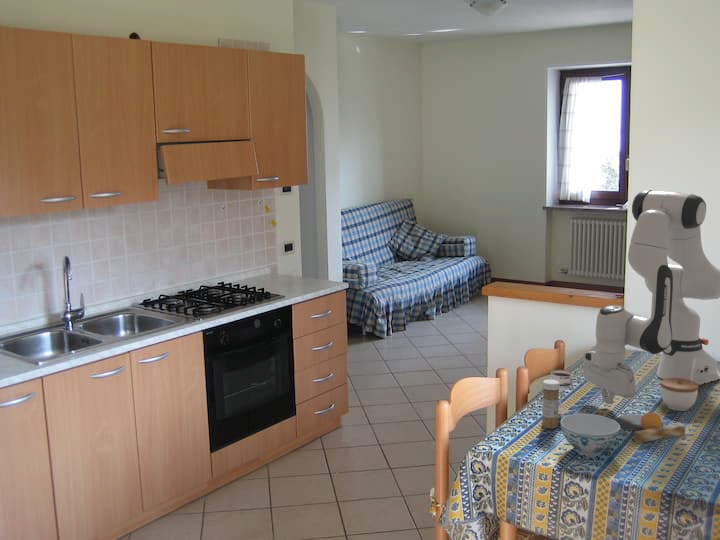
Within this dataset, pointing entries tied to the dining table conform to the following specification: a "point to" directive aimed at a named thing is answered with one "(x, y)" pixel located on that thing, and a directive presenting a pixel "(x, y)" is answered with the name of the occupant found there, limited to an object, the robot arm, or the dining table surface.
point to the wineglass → (562, 384)
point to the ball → (650, 420)
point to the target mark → (631, 422)
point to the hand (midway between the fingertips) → (607, 402)
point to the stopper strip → (659, 433)
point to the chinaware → (589, 432)
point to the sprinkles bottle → (550, 403)
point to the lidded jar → (679, 393)
